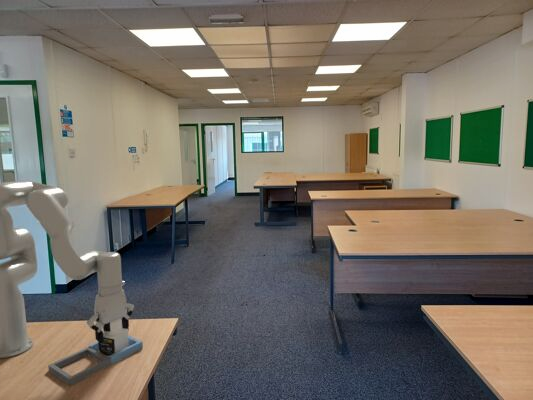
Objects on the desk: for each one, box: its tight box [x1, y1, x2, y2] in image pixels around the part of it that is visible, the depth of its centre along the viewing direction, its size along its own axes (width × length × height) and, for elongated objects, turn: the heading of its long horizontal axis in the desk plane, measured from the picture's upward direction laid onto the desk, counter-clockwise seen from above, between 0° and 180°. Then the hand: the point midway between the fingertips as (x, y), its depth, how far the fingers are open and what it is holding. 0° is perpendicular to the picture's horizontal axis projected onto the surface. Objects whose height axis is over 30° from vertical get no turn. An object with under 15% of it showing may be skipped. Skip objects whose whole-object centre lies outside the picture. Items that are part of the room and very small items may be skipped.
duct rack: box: [47, 334, 144, 386], centre depth 123 cm, size 13×26×2 cm, turn 145°
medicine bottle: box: [97, 318, 130, 357], centre depth 127 cm, size 7×7×12 cm
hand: (112, 335), depth 127 cm, fingers open, 9 cm apart
